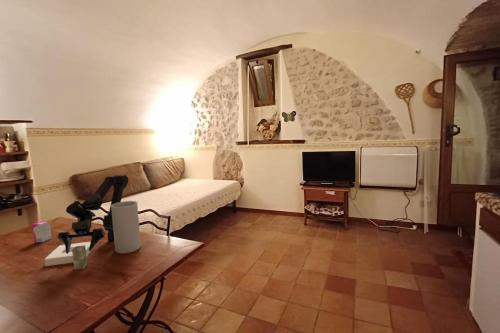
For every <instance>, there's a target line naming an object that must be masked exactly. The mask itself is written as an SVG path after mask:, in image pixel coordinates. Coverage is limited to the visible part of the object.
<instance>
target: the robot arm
mask: <svg viewBox="0 0 500 333" xmlns="http://www.w3.org/2000/svg"><path fill="white" fill-rule="evenodd" d="M128 183H129V177H128V175H127V174H115V175H113V176H110V175H108V176H105V178H104V181H103V182H102V183H101V184H100V186H99V187H98V188H97V189H96V191H95V192H94V193H93V194H92V195H90V196H88V197H87V198H86V199H85V200H84V201H83V202H82V203H81V202H80V201H79V200H74V201H73V202H72V203H70V204H68V206H67V207H66V209H65V212H66V213H67V214H68V215H70V216H71V217H74V218H75V219H78V221H75V222H72V223H71V228H70V229H71V230H72V231H73V232H74V233H70V231H62V232H61V231H60V232H58V234H57V236H56V238H57V239H58V240H59V241H60V242H61V243H63V245H65V248H66V253H67V254H68V253H69V250H70V247H71V244H73V243H72V239H76V238H84V237H85V238H86V237H91V239H90V242H91V243H90V247H89V251H91V250H92V251H93V249H94V248H95V245H97V243H98V242H99V241H100V240H102V239H104V238H105V237H107V242H108V243H111V242H113V243H115V242H114V231H113V221H112V210H111V205H113V204H115V203H119V202H122V197H123V192H124V190H125V189H126V187H127V186H128ZM112 187H113V190H112V191H113V192H112V197H111V201H110V204H109V206H110V207H109V209H108V210H109V211H108V213H107V215H106V214H105V215H103V220H102V227H104V229H103V228H102V227H99V228H93V230H92V231H91V228H92V226H93V225H92V222H93V218H95V217H96V214H95V213H94V212H93V211H98V210H100V209H101V206H102V204H103V203H104V202H103V199H104V198H105V196H106V195H107V194H108V192H109V190H110V189H112ZM105 231H106V232H107V234H106V232H105ZM106 235H107V236H106ZM93 247H94V248H93ZM92 248H93V249H92ZM92 251H91V252H92Z"/></svg>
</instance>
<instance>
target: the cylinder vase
mask: <svg viewBox="0 0 500 333" xmlns="http://www.w3.org/2000/svg"><path fill="white" fill-rule="evenodd" d="M110 205H111V204H110ZM138 206H139V205H138V202H137V201H135V200H128V201H127V200H126V201H125V200H124V201H121V202H119V203H115V204H113V205H111V210H112V221H113V231H114V242H113V243H114V250H115V252H116V253H117V254H123V255H124V254H130V253H134V252H135V251H137V250H139V249H140V248H141V245H142V243H141V232H140V219H139V208H138Z"/></svg>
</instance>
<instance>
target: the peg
mask: <svg viewBox="0 0 500 333" xmlns="http://www.w3.org/2000/svg"><path fill="white" fill-rule="evenodd" d="M72 254H73V262H72V263H73V269H74V270H81V269H85V268H86V267H87V265H88V259H87V257H88V256H87V257H86V248H85V245H84V246H76V247H75V248H74V249H73V250H72Z"/></svg>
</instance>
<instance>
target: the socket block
mask: <svg viewBox="0 0 500 333" xmlns="http://www.w3.org/2000/svg"><path fill="white" fill-rule="evenodd" d="M90 243H91V241H84V242H78V243H77V242H76V243H71V247H70V250H69V253H68V254H67V253H66V248H65V244H60V245H59V246H57V247H56V248H55V249H54V250H53V251H52V252H50V253H49V254H48V255H47V256H46V257H45V258H44V266H45V267H48V266H49V267H50V266H55V265H56V266H57V265H64V264H69V263H74V262H73V254H72V250H73V249H74V248H75V247H76V246H84V245H85V248H86V257H88V256H89V255H90V253H91V252H92V251H93V249H95V246H94V247H93V248H92V250H91V251H89V247H90Z"/></svg>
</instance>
